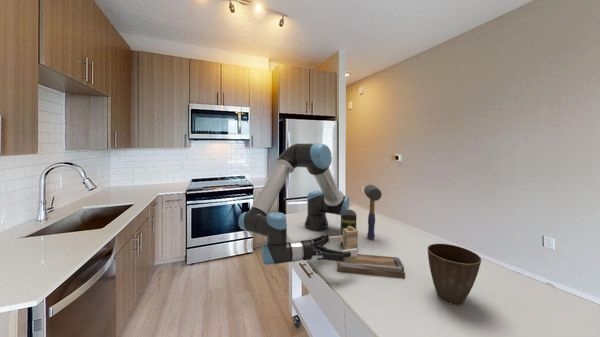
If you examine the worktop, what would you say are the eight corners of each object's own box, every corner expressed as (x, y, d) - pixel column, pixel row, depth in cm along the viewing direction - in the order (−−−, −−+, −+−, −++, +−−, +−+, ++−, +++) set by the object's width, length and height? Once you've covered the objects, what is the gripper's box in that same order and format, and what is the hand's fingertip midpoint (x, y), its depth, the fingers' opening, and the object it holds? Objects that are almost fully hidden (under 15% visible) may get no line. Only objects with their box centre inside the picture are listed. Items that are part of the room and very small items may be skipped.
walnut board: (337, 256, 106) (338, 249, 106) (396, 261, 102) (397, 254, 101) (337, 271, 93) (337, 263, 93) (404, 278, 89) (405, 269, 89)
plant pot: (420, 281, 87) (423, 241, 85) (466, 288, 82) (469, 246, 81) (431, 307, 72) (434, 260, 71) (486, 318, 68) (491, 267, 67)
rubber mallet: (380, 243, 120) (383, 187, 118) (366, 242, 121) (368, 187, 118) (375, 234, 133) (376, 183, 130) (362, 234, 133) (363, 183, 131)
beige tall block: (342, 259, 99) (342, 226, 98) (352, 258, 100) (353, 225, 99) (346, 264, 95) (347, 229, 94) (357, 262, 96) (358, 228, 95)
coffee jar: (340, 241, 123) (340, 208, 121) (355, 242, 122) (356, 208, 120) (340, 249, 113) (341, 213, 112) (356, 250, 112) (357, 214, 110)
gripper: (294, 246, 104) (337, 241, 109) (310, 276, 80) (364, 268, 85) (294, 230, 103) (337, 226, 108) (310, 256, 79) (364, 249, 84)
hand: (349, 244), depth 96 cm, fingers open, 13 cm apart
